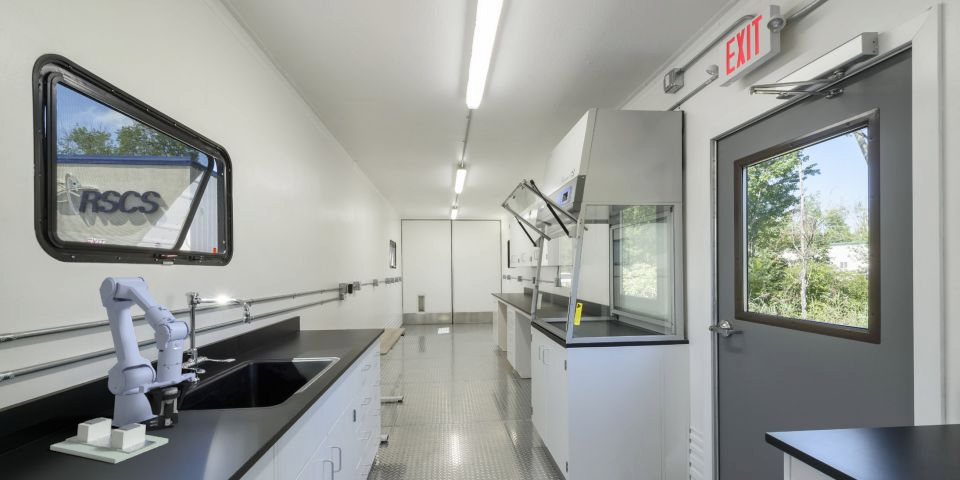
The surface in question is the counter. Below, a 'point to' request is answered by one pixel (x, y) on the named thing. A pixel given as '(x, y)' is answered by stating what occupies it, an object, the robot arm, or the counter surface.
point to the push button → (168, 407)
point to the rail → (107, 442)
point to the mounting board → (104, 450)
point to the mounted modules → (120, 436)
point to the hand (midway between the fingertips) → (166, 411)
